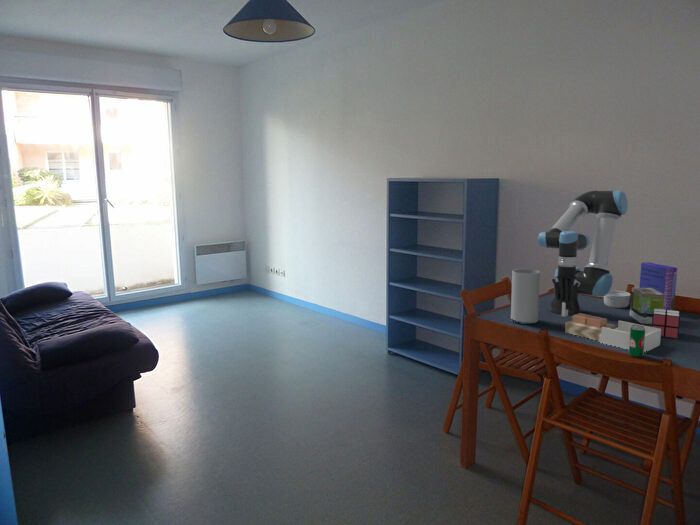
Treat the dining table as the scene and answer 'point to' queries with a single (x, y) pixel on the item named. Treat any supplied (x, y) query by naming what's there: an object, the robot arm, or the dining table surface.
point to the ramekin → (617, 299)
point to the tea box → (645, 304)
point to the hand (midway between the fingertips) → (564, 315)
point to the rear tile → (580, 318)
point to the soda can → (637, 340)
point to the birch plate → (585, 330)
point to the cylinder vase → (525, 295)
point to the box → (622, 336)
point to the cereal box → (660, 281)
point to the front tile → (596, 321)
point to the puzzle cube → (666, 322)
